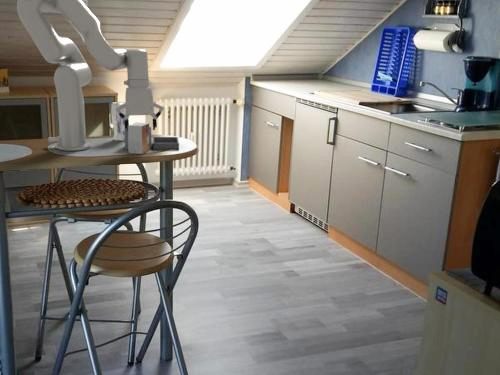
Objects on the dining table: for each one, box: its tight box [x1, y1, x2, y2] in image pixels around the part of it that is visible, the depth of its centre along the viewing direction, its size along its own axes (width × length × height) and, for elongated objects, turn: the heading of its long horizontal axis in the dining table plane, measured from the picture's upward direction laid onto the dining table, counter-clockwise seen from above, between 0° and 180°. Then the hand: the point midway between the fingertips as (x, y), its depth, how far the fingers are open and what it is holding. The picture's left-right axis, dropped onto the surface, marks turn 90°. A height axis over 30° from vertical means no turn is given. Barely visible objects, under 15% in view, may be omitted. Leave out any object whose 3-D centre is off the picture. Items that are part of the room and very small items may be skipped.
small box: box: [127, 121, 150, 155], centre depth 226 cm, size 8×6×10 cm
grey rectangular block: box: [124, 125, 153, 150], centre depth 233 cm, size 10×5×8 cm, turn 99°
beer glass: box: [110, 101, 130, 142], centre depth 245 cm, size 7×7×15 cm
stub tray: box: [152, 136, 180, 151], centre depth 237 cm, size 10×12×2 cm
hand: (141, 129), depth 225 cm, fingers open, 9 cm apart
